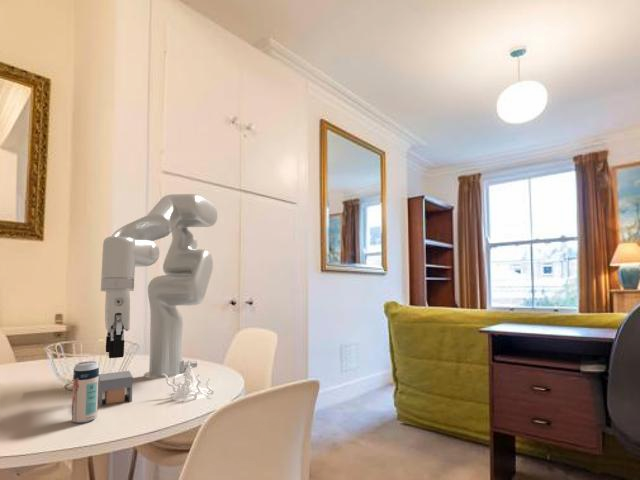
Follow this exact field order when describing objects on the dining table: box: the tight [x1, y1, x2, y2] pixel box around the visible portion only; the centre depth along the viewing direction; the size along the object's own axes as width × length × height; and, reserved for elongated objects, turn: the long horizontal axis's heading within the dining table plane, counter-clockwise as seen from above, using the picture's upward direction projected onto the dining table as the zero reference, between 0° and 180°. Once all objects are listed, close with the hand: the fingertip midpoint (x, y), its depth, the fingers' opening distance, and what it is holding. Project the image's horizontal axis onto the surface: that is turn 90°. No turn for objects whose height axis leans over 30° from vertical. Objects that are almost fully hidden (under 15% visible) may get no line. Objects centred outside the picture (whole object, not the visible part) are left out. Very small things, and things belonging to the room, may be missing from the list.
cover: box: [98, 370, 133, 408], centre depth 101 cm, size 7×7×6 cm
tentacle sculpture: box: [162, 359, 214, 402], centre depth 104 cm, size 9×12×9 cm
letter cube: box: [104, 388, 126, 405], centre depth 101 cm, size 4×4×4 cm
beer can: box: [71, 360, 100, 424], centre depth 88 cm, size 5×5×12 cm
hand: (114, 354), depth 101 cm, fingers open, 9 cm apart
